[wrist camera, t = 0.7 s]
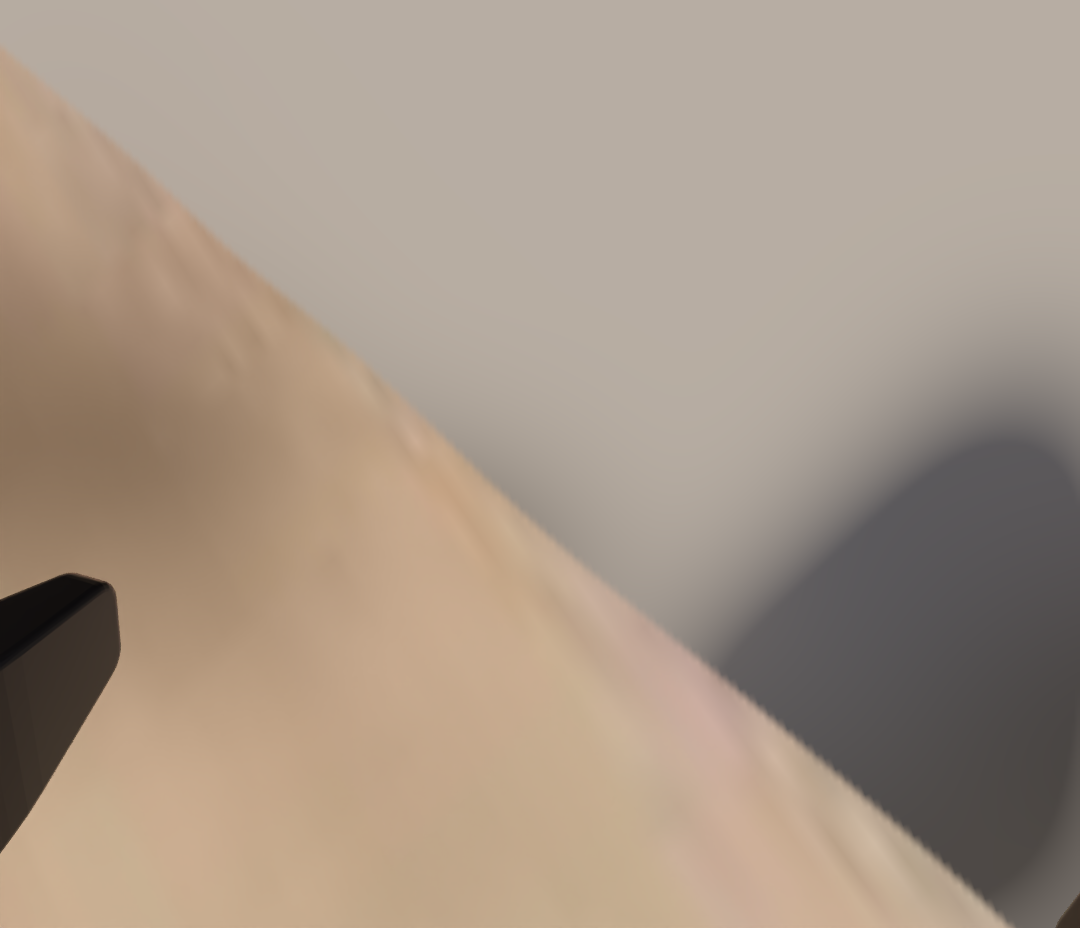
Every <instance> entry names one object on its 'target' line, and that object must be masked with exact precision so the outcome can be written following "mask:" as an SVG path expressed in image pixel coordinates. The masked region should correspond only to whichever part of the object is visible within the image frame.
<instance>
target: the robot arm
mask: <svg viewBox="0 0 1080 928" xmlns="http://www.w3.org/2000/svg"><path fill="white" fill-rule="evenodd" d="M120 650H121V642H120V631H119V620H118V609H117V598H116V592H115V590H114V588H113V587H112V585H111V584H109V583H108V582H106V581H102V580H99V579H95V578H92V577H88V576H85V575H81V574H77V573H66V574H63V575H59V576H57V577H54V578H52V579H49V580H47V581H45V582H42V583H40V584H37V585H35V586H32V587H30V588H27V589H25V590H22V591H20V592H18V593H15V594H13V595H10V596H8V597H5V598H3V599H0V853H1V852H2V850H3V849H4V848H5V846H6V845H7V844H8V842H9V841H10V840H11V838H12V837H13V835H14V834H15V833H16V831H17V830H18V828H19V827H20V826H21V824H22V823H23V821H24V820H25V818H26V817H27V816H28V814H29V813H30V811H31V810H32V808H33V806H34V805H35V803H36V802H37V800H38V799H39V797H40V795H41V794H42V792H43V791H44V789H45V787H46V786H47V784H48V782H49V781H50V779H51V777H52V775H53V774H54V772H55V770H56V769H57V767H58V765H59V764H60V762H61V760H62V759H63V757H64V755H65V754H66V752H67V750H68V748H69V747H70V745H71V743H72V742H73V740H74V738H75V737H76V735H77V733H78V732H79V730H80V728H81V727H82V725H83V723H84V722H85V720H86V718H87V716H88V715H89V713H90V711H91V710H92V708H93V706H94V705H95V703H96V701H97V700H98V698H99V696H100V695H101V693H102V691H103V690H104V688H105V686H106V684H107V683H108V681H109V679H110V678H111V676H112V674H113V672H114V670H115V668H116V666H117V663H118V660H119V657H120ZM1056 928H1080V893H1079V894H1078V896H1077V897H1076V898H1075V900H1074V901H1073V902H1072V903H1071V905H1070V906H1069V907H1068V909H1067V910H1066V911H1065V912H1064V914H1063V915H1062V916H1061V918H1060V920H1059V921H1058V923H1057V925H1056Z"/></svg>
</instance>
